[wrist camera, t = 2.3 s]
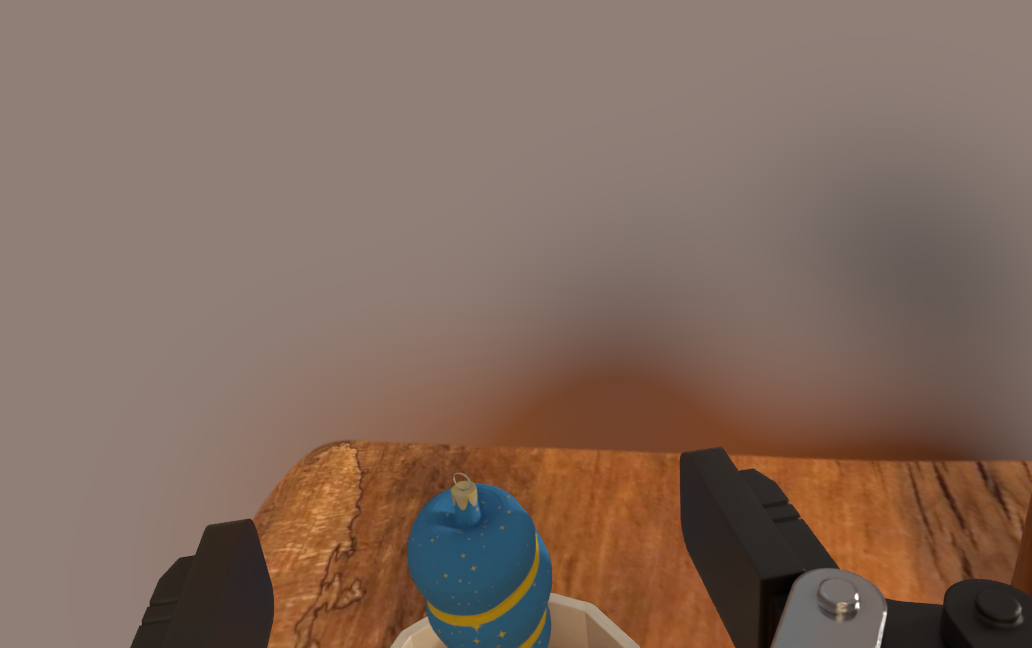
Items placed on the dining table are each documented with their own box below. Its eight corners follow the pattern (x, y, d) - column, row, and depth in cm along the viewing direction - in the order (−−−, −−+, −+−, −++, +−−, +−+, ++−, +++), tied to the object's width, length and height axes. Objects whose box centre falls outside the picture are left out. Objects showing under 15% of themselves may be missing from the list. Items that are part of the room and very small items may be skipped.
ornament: (538, 836, 31) (490, 542, 24) (430, 783, 33) (360, 503, 27) (591, 726, 35) (562, 448, 28) (491, 686, 37) (443, 422, 31)
